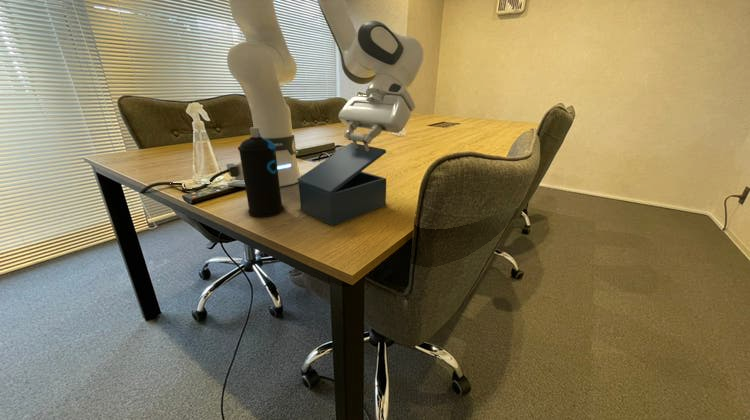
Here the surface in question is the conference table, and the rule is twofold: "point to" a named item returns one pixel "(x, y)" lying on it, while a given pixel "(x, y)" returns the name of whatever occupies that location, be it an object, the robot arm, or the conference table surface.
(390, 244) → the conference table surface
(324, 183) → the lid
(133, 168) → the conference table surface
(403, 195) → the conference table surface
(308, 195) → the box
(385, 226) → the conference table surface
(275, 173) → the aerosol can
